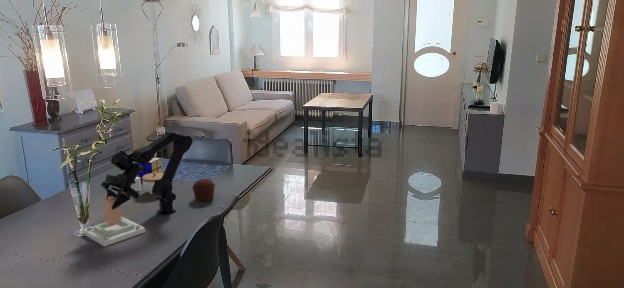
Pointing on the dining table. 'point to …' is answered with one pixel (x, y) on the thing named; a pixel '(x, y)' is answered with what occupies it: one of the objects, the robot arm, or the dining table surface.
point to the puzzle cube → (151, 167)
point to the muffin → (203, 190)
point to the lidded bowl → (151, 181)
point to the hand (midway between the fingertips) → (109, 208)
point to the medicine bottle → (136, 184)
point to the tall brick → (111, 211)
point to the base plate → (113, 231)
